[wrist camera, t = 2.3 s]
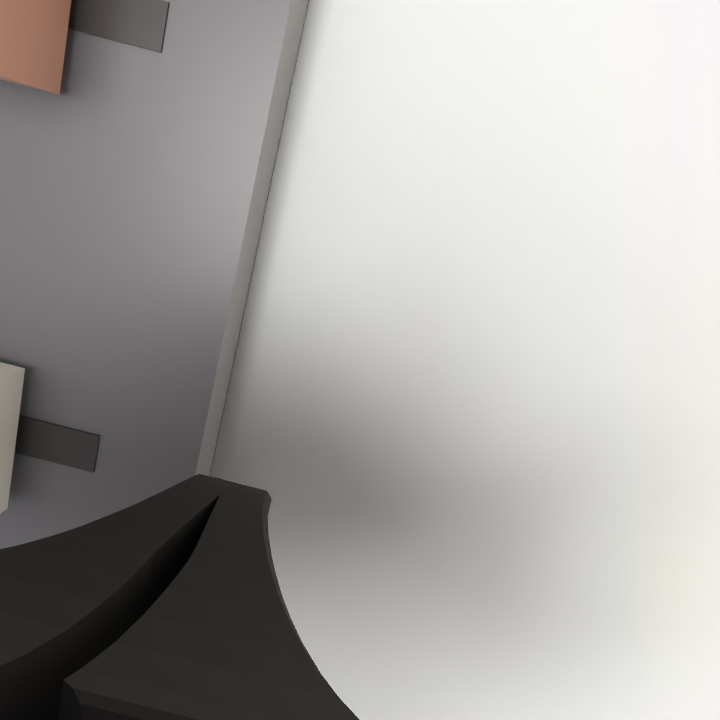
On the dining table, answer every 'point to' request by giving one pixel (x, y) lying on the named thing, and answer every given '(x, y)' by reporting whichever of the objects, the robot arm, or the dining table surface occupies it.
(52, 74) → the fader terracotta
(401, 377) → the dining table surface
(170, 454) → the console
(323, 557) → the dining table surface
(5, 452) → the fader white
